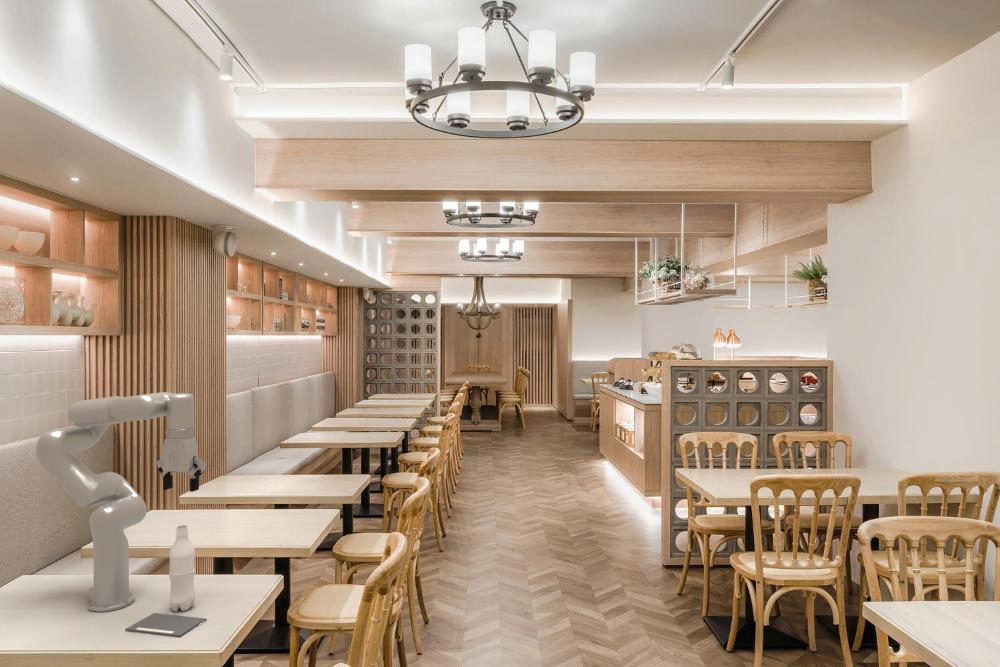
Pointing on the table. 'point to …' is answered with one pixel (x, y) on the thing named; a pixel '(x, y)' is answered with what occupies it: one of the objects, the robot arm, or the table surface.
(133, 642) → the table surface
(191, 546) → the water bottle
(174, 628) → the board
